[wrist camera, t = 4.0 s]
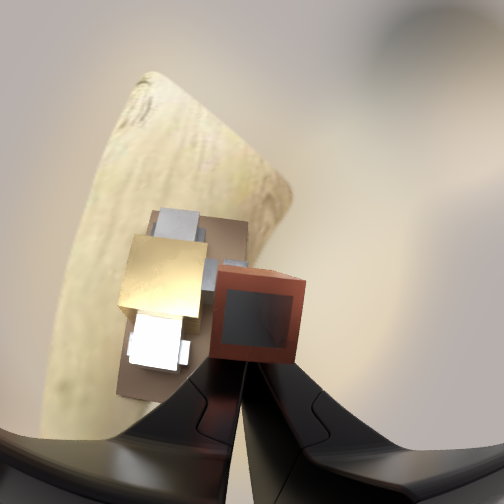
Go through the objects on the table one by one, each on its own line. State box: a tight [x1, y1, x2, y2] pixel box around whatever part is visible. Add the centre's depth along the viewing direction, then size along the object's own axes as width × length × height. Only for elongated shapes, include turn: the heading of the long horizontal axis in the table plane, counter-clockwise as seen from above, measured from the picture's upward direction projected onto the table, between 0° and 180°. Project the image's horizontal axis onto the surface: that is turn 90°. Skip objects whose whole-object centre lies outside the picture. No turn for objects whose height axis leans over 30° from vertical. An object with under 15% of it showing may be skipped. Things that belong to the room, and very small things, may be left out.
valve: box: [117, 208, 218, 374], centre depth 19 cm, size 10×5×5 cm, turn 176°
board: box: [116, 210, 248, 403], centre depth 21 cm, size 14×8×1 cm, turn 176°
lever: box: [209, 259, 306, 364], centre depth 12 cm, size 2×2×12 cm
